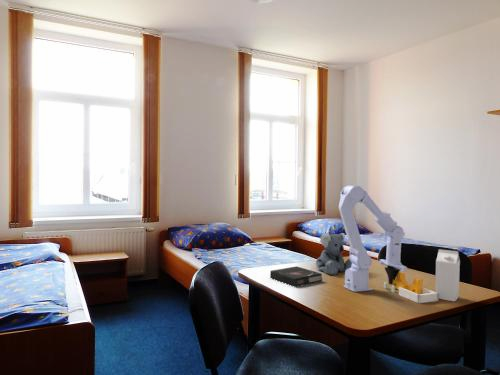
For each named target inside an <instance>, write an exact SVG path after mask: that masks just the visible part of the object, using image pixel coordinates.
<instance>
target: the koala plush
mask: <svg viewBox="0 0 500 375" xmlns="http://www.w3.org/2000/svg"><path fill="white" fill-rule="evenodd" d="M345 238H346V233H343V232H341V233H339V234H338V233H326V232H325V233H323V234H321V235H320V236H319V240H320V241H319V243H321V245H322V246H323V247H324V250H322V252H321V254H320V256H319V257H318V258H316V261H315V265H316V268H317V270H319V271H321V272H323V273H325V274H326V275H329V276H335V275H337V274H338V273H339V272H342V273H345V271H346V270H347V269H349V268H351V265H352V263H351V261H350V259H349V258H348V259H347V260H346V261H345V259H344V257H343V255H342V254H343V252H344V249H345V248H344V241H345Z"/></svg>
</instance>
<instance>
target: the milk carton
mask: <svg viewBox="0 0 500 375" xmlns="http://www.w3.org/2000/svg"><path fill="white" fill-rule="evenodd" d="M437 250H438V251H437V257H436V259H435V281H434V282H435V283H434V285H435V287H434V288H435V290H434V292H437V293H439V298H438V300H439V299H440V300H443V301H444V300H445V301H450V302H456V301H457V299H458V298H459V296H460V268H461V267H460V266H461V260H460V256H459V255H460V254H459V251H457V250H448V249H441V248H439V249H437Z"/></svg>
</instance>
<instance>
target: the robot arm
mask: <svg viewBox="0 0 500 375" xmlns="http://www.w3.org/2000/svg"><path fill="white" fill-rule="evenodd" d="M338 203H339V204H338V211H339V214H340V217H341V220H342V221H341V222H342V224H343V227H344V231H345V236H346V238H347V240H348V244H349V249H348V250H349V258H348V259H350V261H351V263H352V265H351V268H349V269H347V270H346V271H345V272H344V285H343V288H345V289H347V290H350V291H352V292H366V291H373V289H374V288H372V287H370V286H369V276H370V275H369V273H370V267H371V265H372V263H373V262H372V257H371V255H369V254H368V251H367V249H366V248H365V247H364V245H363V242H362V238H361V234H360V231H359V228H358V225H357V224H358V223H357V222H356V219H355V214H354V211H353V210H354V208H355V207H356V205H357V204H358V203H360V204H361V203H362V204H363V205H364V206H365V207H366V208H367V209H368V210H369V211H370V212H371V213H372V214H373V216H374V220H375V221H376V223H377V224H378V225H379V227H380V228H382V229H383V231H384V234H385V235H386V250H385V251H386V256H385V259H384V258H383V259H382V258H381V259H379V264H380V265H385V267H384V270H385V272H386V274H387V279H388V281H387V282H388V284H389V286H390V285H391V286H392V284H393V280H396V276H397V274H398V273H399V272H402V273H406V272H408V267H407V266H405V265H404V264H402V262H401V253H402V249H401V248H402V240H403V238H404V237H405V232H404V229H403V227H402V226H400V225H398V222H397V221H396V220H394V219H393V218H392V217H391V213H389V212H387V211H383V210H381V209H380V207H379V206H378V205H377V204H376V202H375V201H374V200H373V198H371V196H370V195H369V193H368V192H367V191H366V190H365V189H364V188H363V187H362V186H360V185H351V184H349V185H345V186H344V187H343V189H342V190H341V191H340V199H339V202H338Z"/></svg>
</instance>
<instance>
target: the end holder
mask: <svg viewBox="0 0 500 375" xmlns="http://www.w3.org/2000/svg"><path fill="white" fill-rule="evenodd" d="M398 296H400V297H403V298H405V299H408V300H410V301H412V302H415V303H417V304H423V303H432V302H438V301H439V293H437V292H435V290H432V289H431V290H430V289H428V288H426V287H423V286H422V294H420V295H419V294H416V293H414V292H411V291H409V290H406V289H404V288H401V287H399V290H398Z"/></svg>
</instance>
